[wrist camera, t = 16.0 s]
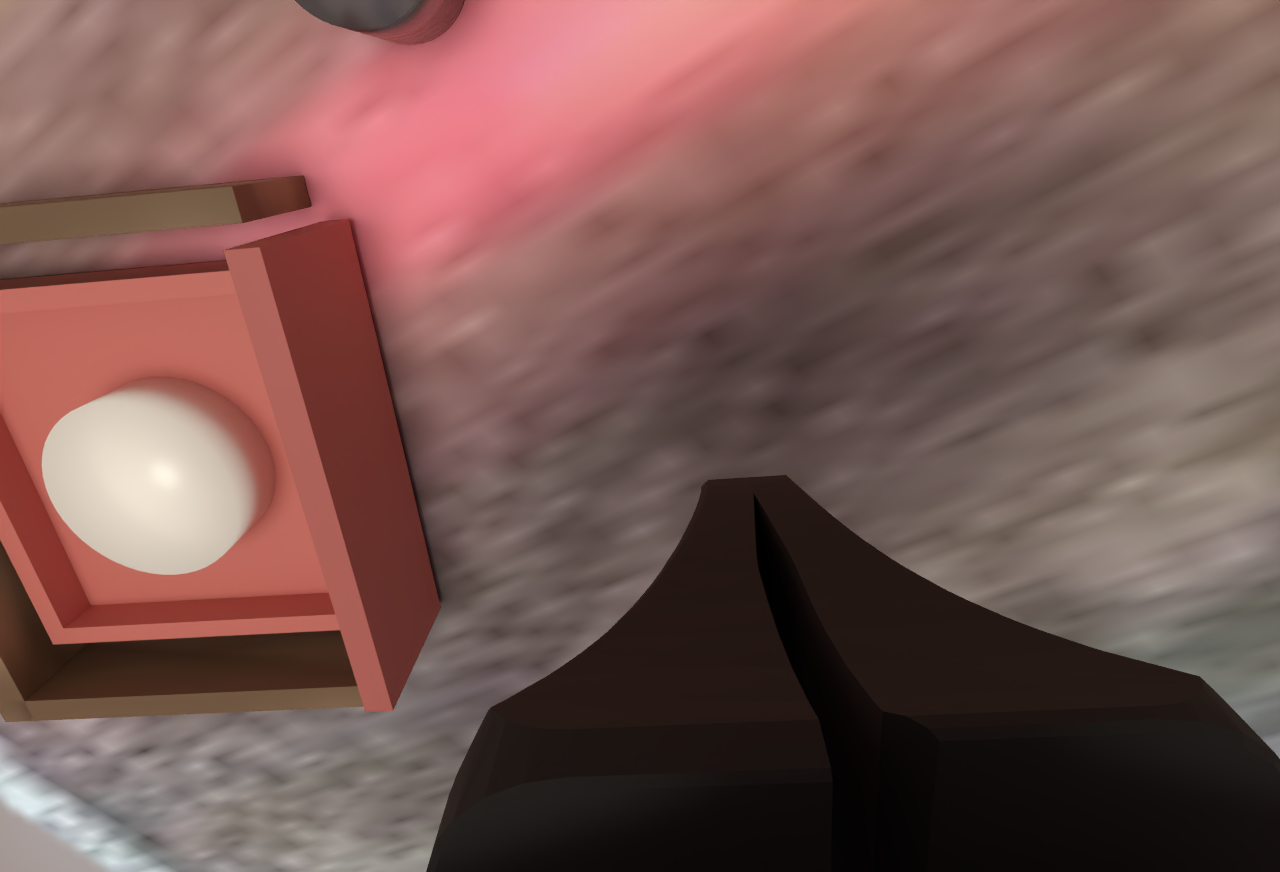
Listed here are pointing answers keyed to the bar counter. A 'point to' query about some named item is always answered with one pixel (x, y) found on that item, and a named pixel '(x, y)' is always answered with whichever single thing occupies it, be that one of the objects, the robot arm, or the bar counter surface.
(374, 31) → the cylinder
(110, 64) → the bar counter surface
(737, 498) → the robot arm
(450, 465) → the bar counter surface
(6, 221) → the cabinet
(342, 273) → the drawer
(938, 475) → the bar counter surface
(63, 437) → the white dome
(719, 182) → the bar counter surface
